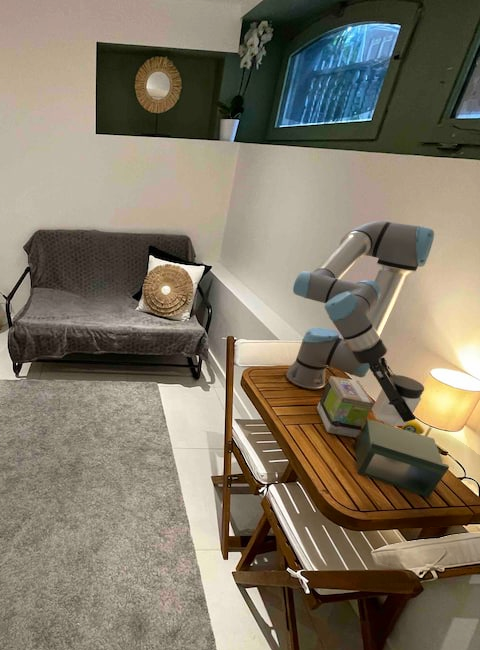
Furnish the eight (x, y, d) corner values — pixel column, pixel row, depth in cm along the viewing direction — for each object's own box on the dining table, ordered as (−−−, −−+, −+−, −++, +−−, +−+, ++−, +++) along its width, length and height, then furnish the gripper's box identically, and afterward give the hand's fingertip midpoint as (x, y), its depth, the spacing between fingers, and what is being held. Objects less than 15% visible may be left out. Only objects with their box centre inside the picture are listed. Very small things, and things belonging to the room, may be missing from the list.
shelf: (355, 442, 125) (369, 414, 120) (418, 463, 119) (436, 434, 113) (357, 473, 113) (373, 443, 107) (428, 497, 106) (449, 467, 101)
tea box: (357, 438, 128) (375, 403, 120) (326, 433, 129) (342, 397, 122) (343, 413, 140) (359, 379, 133) (315, 408, 142) (329, 374, 134)
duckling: (382, 441, 127) (395, 418, 122) (385, 434, 131) (398, 411, 126) (422, 459, 121) (437, 435, 116) (424, 451, 124) (439, 427, 119)
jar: (366, 415, 108) (384, 380, 102) (375, 405, 113) (393, 371, 107) (401, 431, 103) (422, 395, 97) (409, 420, 108) (430, 385, 102)
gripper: (350, 337, 113) (388, 397, 116) (352, 366, 97) (396, 436, 99) (377, 325, 109) (416, 388, 111) (384, 354, 92) (430, 427, 94)
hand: (407, 410), depth 105 cm, fingers closed on jar, 9 cm apart
